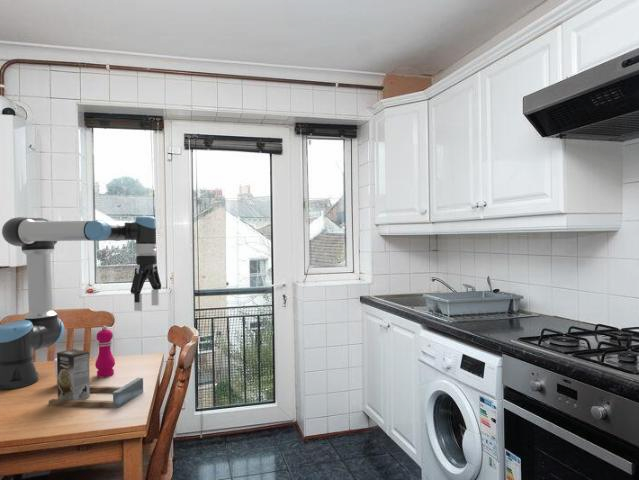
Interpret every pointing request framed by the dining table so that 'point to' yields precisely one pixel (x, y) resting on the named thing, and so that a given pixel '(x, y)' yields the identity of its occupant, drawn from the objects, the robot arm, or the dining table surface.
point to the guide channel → (119, 393)
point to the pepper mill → (105, 353)
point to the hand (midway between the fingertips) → (147, 307)
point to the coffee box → (73, 374)
